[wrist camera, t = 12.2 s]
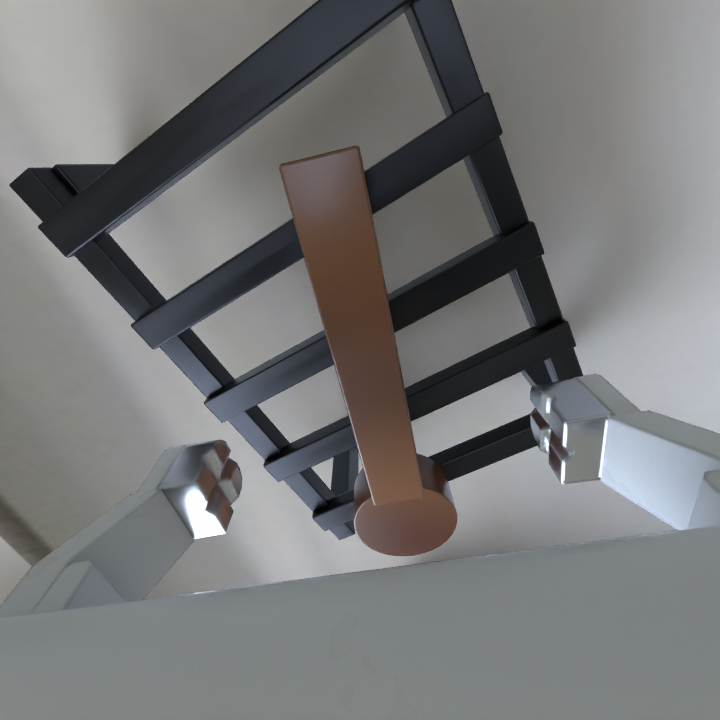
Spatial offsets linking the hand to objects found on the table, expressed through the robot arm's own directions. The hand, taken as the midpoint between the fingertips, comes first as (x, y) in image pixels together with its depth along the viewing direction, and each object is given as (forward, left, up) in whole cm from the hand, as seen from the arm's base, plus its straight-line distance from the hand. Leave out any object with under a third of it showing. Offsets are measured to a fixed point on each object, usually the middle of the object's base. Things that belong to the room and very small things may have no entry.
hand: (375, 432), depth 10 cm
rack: (-1, 0, -12) cm, 12 cm away
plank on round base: (+1, 0, -5) cm, 5 cm away
